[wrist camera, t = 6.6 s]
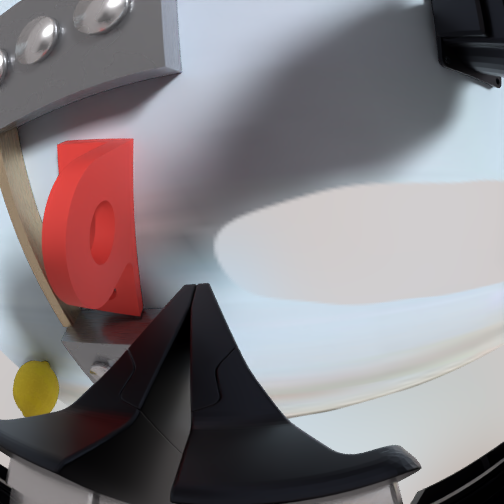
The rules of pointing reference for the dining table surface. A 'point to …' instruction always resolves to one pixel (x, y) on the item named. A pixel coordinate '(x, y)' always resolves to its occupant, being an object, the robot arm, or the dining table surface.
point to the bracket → (93, 227)
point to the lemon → (35, 388)
